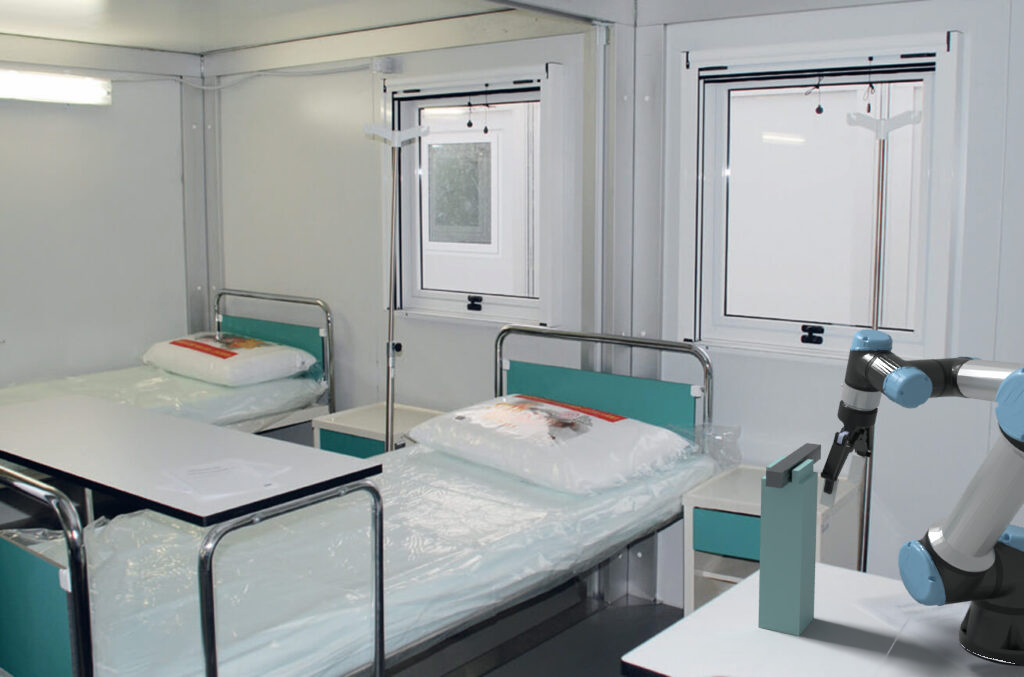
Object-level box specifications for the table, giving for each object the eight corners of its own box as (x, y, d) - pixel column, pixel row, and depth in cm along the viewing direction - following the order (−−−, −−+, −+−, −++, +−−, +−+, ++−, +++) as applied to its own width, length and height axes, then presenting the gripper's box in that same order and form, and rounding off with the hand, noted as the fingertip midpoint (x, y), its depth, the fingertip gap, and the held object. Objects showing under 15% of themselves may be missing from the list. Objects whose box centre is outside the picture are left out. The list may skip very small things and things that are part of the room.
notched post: (774, 609, 204) (778, 455, 200) (813, 618, 199) (818, 460, 195) (758, 627, 195) (761, 466, 191) (798, 636, 191) (803, 471, 187)
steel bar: (806, 457, 208) (806, 443, 207) (820, 458, 206) (821, 444, 206) (765, 486, 186) (766, 470, 186) (781, 488, 184) (781, 472, 184)
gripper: (866, 381, 214) (848, 467, 222) (815, 415, 197) (797, 508, 205) (900, 392, 210) (880, 479, 218) (851, 428, 192) (831, 522, 200)
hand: (840, 493), depth 211 cm, fingers open, 13 cm apart
